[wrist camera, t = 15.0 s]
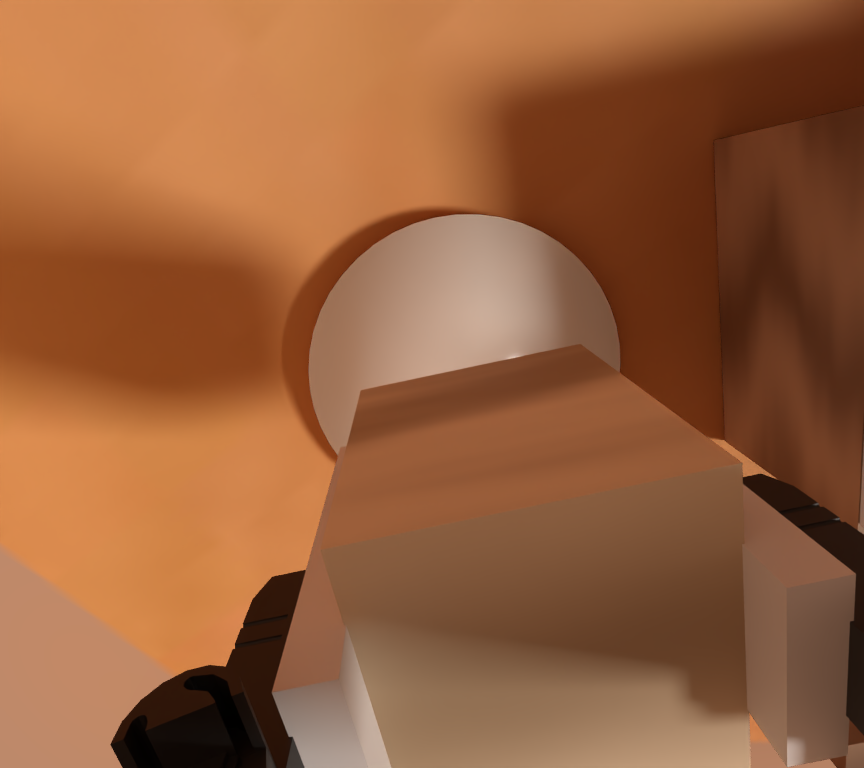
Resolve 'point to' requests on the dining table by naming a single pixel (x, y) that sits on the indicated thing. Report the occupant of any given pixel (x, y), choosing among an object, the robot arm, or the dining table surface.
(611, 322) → the dish
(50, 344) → the dining table surface
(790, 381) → the wooden frame
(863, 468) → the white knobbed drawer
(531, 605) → the block
